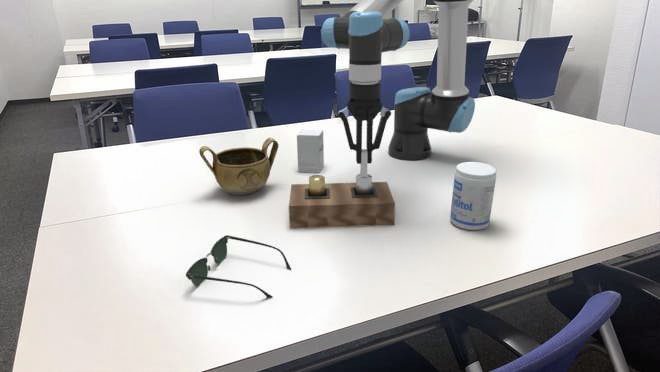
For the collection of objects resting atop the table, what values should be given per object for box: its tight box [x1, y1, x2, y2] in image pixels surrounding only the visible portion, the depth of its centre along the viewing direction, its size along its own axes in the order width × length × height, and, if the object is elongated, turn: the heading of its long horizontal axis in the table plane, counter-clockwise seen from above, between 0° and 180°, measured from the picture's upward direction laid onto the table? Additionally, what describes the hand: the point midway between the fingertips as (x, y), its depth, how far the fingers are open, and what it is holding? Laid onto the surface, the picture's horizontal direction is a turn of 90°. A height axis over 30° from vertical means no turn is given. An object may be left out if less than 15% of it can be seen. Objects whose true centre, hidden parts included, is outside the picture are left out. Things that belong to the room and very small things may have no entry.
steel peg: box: [355, 173, 373, 196], centre depth 122 cm, size 4×4×6 cm
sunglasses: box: [185, 234, 292, 298], centre depth 97 cm, size 16×17×5 cm
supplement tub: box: [449, 161, 497, 231], centre depth 116 cm, size 10×10×15 cm
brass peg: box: [308, 174, 326, 197], centre depth 121 cm, size 4×4×6 cm
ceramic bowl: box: [198, 137, 279, 196], centre depth 138 cm, size 22×17×15 cm
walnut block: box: [288, 181, 396, 229], centre depth 123 cm, size 26×14×6 cm, turn 92°
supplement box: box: [296, 128, 325, 174], centre depth 154 cm, size 7×7×13 cm
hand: (363, 175), depth 120 cm, fingers closed
